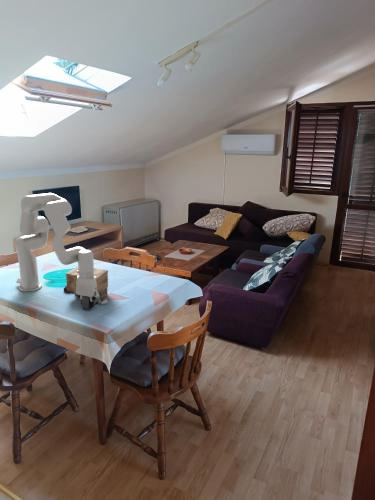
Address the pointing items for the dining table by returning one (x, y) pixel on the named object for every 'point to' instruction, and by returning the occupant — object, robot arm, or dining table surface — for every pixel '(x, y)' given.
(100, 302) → the disc
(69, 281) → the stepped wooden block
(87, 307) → the grey mallet
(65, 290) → the sunglasses case
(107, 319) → the dining table surface
